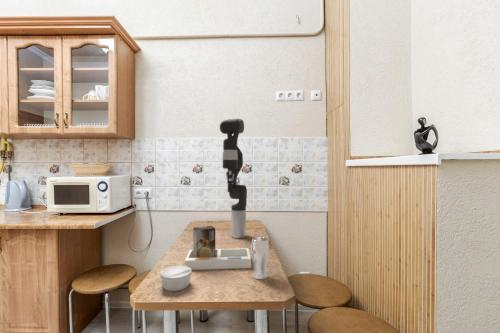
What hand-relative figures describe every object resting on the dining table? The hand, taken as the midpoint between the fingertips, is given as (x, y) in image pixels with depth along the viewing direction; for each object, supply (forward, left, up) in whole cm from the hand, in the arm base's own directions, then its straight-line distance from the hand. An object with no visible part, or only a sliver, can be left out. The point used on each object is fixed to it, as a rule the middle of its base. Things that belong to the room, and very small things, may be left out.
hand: (229, 191), depth 124 cm
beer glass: (+26, +12, -32) cm, 43 cm away
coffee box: (+9, -12, -32) cm, 36 cm away
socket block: (+10, -5, -32) cm, 34 cm away
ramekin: (+31, -20, -32) cm, 49 cm away
